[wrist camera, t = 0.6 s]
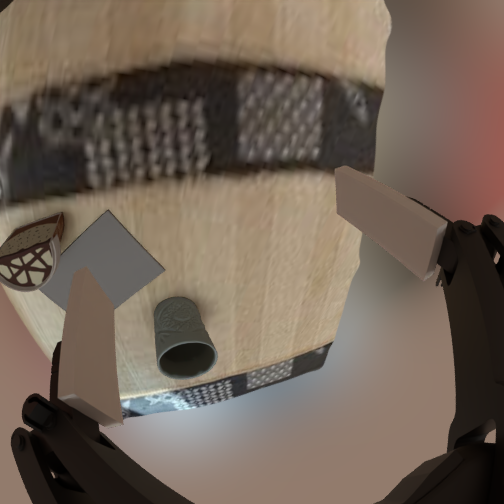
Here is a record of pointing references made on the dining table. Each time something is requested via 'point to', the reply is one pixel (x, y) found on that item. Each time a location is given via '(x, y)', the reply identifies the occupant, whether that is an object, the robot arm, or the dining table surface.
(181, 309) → the grey green cup
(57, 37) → the dining table surface
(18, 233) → the food container
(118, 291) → the mat
